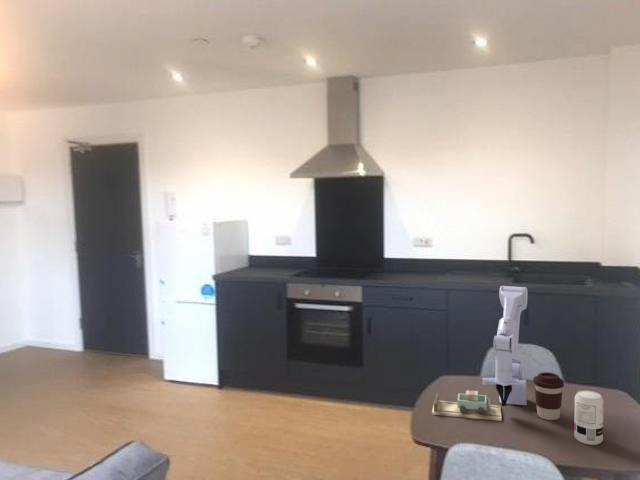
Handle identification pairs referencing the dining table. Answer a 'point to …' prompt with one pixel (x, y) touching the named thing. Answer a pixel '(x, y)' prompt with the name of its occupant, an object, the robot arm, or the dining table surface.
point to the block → (471, 395)
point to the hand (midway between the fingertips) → (503, 404)
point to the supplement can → (588, 417)
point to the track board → (453, 410)
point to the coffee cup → (548, 395)
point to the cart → (474, 403)
